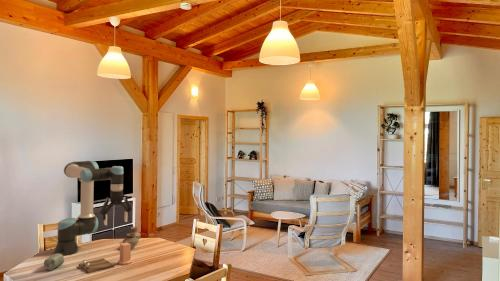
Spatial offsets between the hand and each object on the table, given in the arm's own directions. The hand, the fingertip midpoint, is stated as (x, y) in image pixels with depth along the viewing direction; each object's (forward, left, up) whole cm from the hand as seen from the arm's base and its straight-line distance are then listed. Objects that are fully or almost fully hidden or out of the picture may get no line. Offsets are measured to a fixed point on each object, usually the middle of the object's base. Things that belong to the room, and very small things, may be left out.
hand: (115, 223), depth 233 cm
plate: (-7, -9, -28) cm, 30 cm away
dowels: (-7, -16, -26) cm, 32 cm away
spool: (-23, -29, -28) cm, 47 cm away
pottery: (-33, +29, -28) cm, 52 cm away
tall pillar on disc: (-2, +8, -28) cm, 29 cm away
